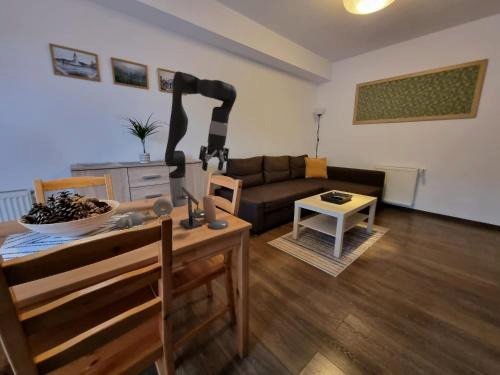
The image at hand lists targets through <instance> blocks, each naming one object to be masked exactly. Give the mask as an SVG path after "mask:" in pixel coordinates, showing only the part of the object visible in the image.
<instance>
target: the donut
mask: <svg viewBox="0 0 500 375" xmlns="http://www.w3.org/2000/svg"><path fill="white" fill-rule="evenodd" d="M163 205H165V207H166V208H165V209H163V210H162V209H161V208H160V207H161V206H163ZM173 210H174V206H173V203H172V202H171V199H169V198H166V197H161V198H159V199H157V200H155V202H154V203H153V205H152V211H153V212H154V214H155V215H156V216H158V217H160V216H161V215H165V214H168V215H167V216H169V215H171V214H172V212H173Z"/></svg>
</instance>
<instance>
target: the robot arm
mask: <svg viewBox="0 0 500 375" xmlns="http://www.w3.org/2000/svg"><path fill="white" fill-rule="evenodd" d="M172 80H173V81H172V98H171V99H172V100H171V108H170V109H171V110H170V112H171V113H170V117H169V118H170V119H169V125H168V126H169V128H168V137H167V142H166V143H167V144H166V148H165V153H164V164H165V165H166V166H167V167H170V168H171V167H176V168H175V169H174V170H172V171H170V172H169V173H168V174H169V175H168V176H169V177H168V178H169V188H170V201H171V202H172V203H173V207H182V206H185V205H188V200H187V199H183V200H179V199H177V198H176V197H177V196H180V195H182V190H181V187H184V188H185V189H186V190H187V183H186V181H187V180H186V171H187V170H186V166H187V165H186V163H187V162H186V154H185V153H184V152H185V151H183V150H176V148H177V145H178V144H179V143H180V142H181V140H183V138H184V137H185V135H186V134H187V132H188V131H187V130H188V125H189V118H188V115H187V113H186V111H185V107H184V106H183V100H182V98H183V94H185V95H200V96H202V97H204V98H205V97H206V98H209V99H213V100H217V101H220V102H222V104H220V106H214V107H213V108H212V111H211V112H212V113H211V118H210V119H211V121H210V124H209V129H208V135H207V136H208V137H207V146H204V145H200V150H199V155H198V160H199V161H202V165H201V169H202V170H203V172H207V171H208V167H209V166H208V165H209V163H208V162H209V160H212V158H217V159H218V166H217V170H218V171H219V172H221V171H223V169H224V163H226V162H228V160H229V154H230V153H229V152H230V148H227V147H225V145H226V142H227V136H228V135H227V134H228V126H229V117H230V114H231V112H232V109H233V108H234V107H233V106H234V104H235V102H236V99H237V96H238V95H237V94H238V93H237V89H236V87H235V85H232V84H230V83H228V82H225V81H222V80H219V79H207V78H206V79H200V78H198V77H197V76H195V75H194V74H191V73H187V72H182V71H176V72H175V73H174V75H173V79H172ZM183 195H186V194H185V193H184V192H183Z"/></svg>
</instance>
